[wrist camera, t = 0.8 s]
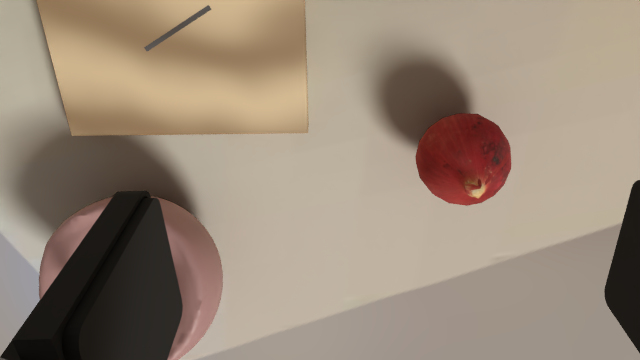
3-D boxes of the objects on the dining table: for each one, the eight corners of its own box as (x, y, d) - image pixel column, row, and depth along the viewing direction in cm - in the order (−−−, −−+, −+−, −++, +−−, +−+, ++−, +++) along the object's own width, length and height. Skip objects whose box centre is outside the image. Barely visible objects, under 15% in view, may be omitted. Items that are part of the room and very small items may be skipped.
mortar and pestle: (190, 142, 37) (140, 232, 27) (259, 268, 43) (238, 383, 33) (49, 195, 40) (-46, 296, 30) (131, 308, 45) (74, 428, 35)
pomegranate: (465, 79, 35) (500, 125, 28) (507, 142, 37) (550, 199, 30) (393, 129, 37) (409, 184, 30) (437, 186, 39) (462, 250, 32)
